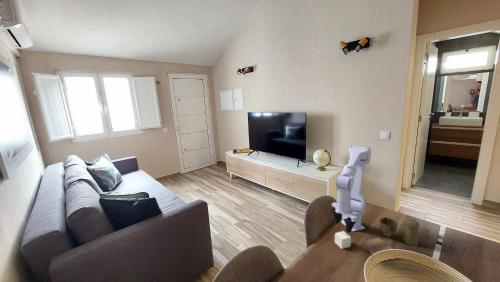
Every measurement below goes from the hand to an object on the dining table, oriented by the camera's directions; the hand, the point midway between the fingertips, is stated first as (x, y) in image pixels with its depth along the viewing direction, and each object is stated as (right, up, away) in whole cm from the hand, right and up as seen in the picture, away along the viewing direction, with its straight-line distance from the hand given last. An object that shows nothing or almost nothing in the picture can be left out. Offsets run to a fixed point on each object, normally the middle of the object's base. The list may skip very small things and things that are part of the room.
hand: (343, 227), depth 100 cm
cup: (+25, -7, +6) cm, 27 cm away
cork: (+33, -7, +1) cm, 34 cm away
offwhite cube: (+1, -9, +2) cm, 9 cm away
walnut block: (+15, -10, -4) cm, 18 cm away
